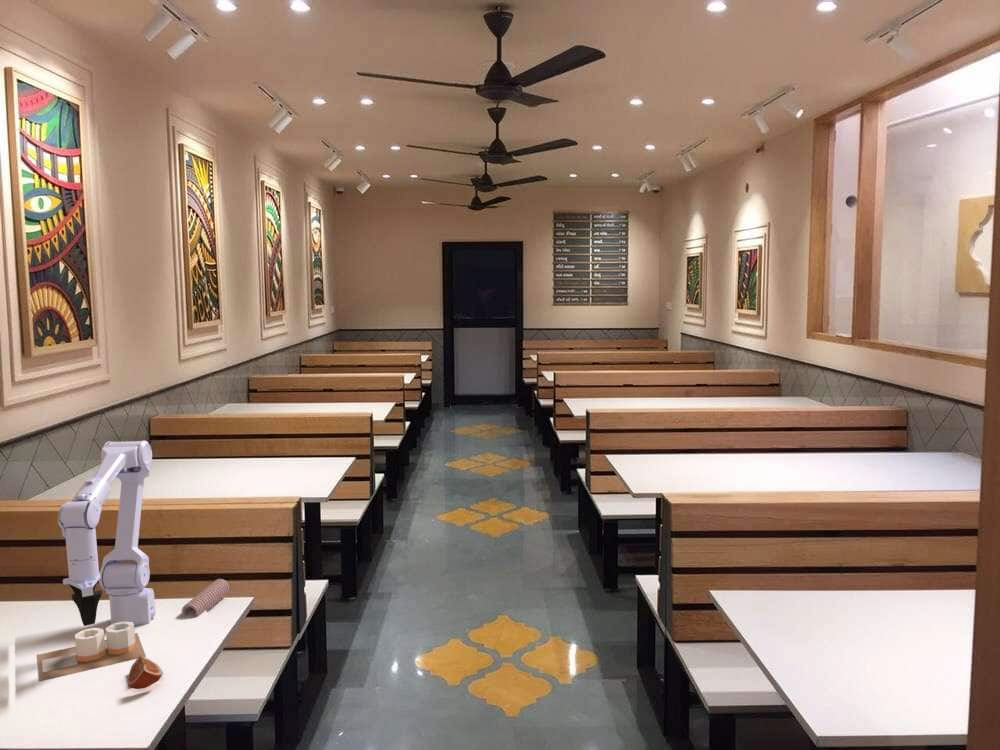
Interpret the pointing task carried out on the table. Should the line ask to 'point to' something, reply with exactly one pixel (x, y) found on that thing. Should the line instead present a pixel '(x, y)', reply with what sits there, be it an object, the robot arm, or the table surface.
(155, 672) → the fruit slice
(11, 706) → the table surface
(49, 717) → the table surface
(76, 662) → the pin board
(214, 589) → the coil
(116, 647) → the seated sleeve
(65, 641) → the table surface
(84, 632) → the sleeve
